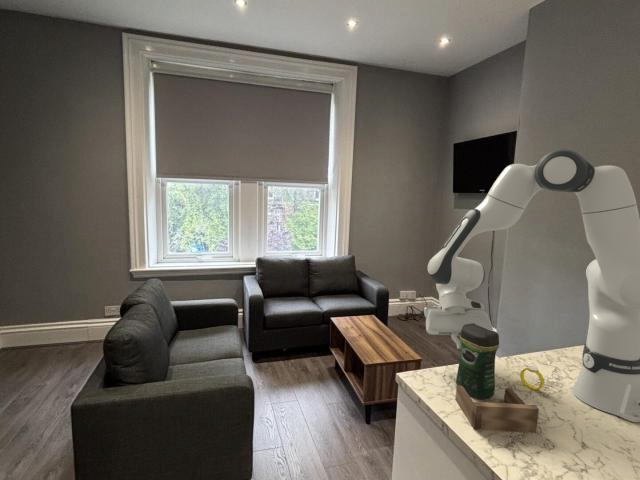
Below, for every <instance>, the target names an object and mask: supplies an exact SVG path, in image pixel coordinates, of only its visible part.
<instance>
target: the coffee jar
mask: <svg viewBox="0 0 640 480" xmlns="http://www.w3.org/2000/svg"><path fill="white" fill-rule="evenodd" d="M459 340H460V342H461V349H460V355H459V362H458V366H457V373H456V380H455V381H456V382H455V384H456V387H457V386H463V388H464V389H465V390H466V392H467V393H468V395H469V396H470V397H473V398H476V399H484V400H486V399H490V398H491V397H493V396H494V395H495V387H496V382H495V381H496V379H495V378H496V377H495V376H496V375H495V374H496V373H495V369H496V356H497V355H496V354H497V352H498V349H499V348H500V335H499V333H498V332H496V331H494V330H493V331H490V330H488V329H486V328H483V327H481V326H478V325H476V324H474V323H471V324H465V325H464V326H463V327H462V330H461V334H460V336H459Z"/></svg>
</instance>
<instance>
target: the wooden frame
mask: <svg viewBox="0 0 640 480" xmlns="http://www.w3.org/2000/svg"><path fill="white" fill-rule="evenodd" d="M455 401H456V403H457V405H458V406H459V408H460V410H461V411H462V413H463V414H464V416H465V418H466V419H467V421H468V423H469V424H470V425H471V427H472V429H473V431H490V432H491V431H493V432H512V433H514V432H515V433H516V432H517V433H533V434H534V433H535V434H536V433H537V430H538V428H537V427H538V421H539V420H538V419H539V413H540V408H539V407H538V406H537V405H536V404H528V403H525V401H524V400H523V399H522V398H521V397H520V396H519V395H518V394H517V393H516V392H515V391H514V390H513V388H512V387H504V397H503V402H484V401H483V402H482V401H473V399H472V398H471V395H469V394H468V393H467V392H466V390H465V389H464V388H463V386H457V385H456V390H455Z"/></svg>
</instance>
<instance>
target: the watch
mask: <svg viewBox="0 0 640 480" xmlns="http://www.w3.org/2000/svg"><path fill="white" fill-rule="evenodd" d="M525 371H529V373H530V372H531V373H535V374H536V375H537V377H538V378H539V386H538V387H535V386H534V385H532V384H529V383H528V382H527V381H526V378H525ZM519 376H520V381H521V382H522V384H523V386H525V387H527V388H530V389H532V390H534V391H539V390H541V389H542V388H543V387H544V385H545V379H544V376H543V374H542V373H541V372H540V369H539V368H538V367H536V366H532V365H528V366H527V367H525V368H523V369H521V371H520V375H519Z"/></svg>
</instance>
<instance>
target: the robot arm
mask: <svg viewBox="0 0 640 480" xmlns="http://www.w3.org/2000/svg"><path fill="white" fill-rule="evenodd" d="M543 190H547V191H550V192H554V193H560V192H561V193H563V192H565V193H566V192H567V193H574V194H575V195H576V197H577V200H578V203H579V207H580V212H581V217H582V222H583V227H584V231H585V237H586V242H587V243H588V245H589V246H590V248H591V250H592V252H593V255H594V257H595V259H593V260H592V261H591V262H589V264H588V265H587V267H586V270H585V276H586V279H587V286H588V288H587V291H588V292H587V293H588V306H589V307H588V309H589V321H588V329H587V336H586V342H585V343H584V345H583V349H582V356H581V357H582V363H581V367H580V370H579V374H578V376H577V378H576V381H575V383H574V385H573V387H572V388H571V390H572V393H573V394H574V396H575V397H577V399H579V400H580V401H582V402H584V403H585V404H587V405H588V406H591V407H593V408H596V409H597V410H600V411H602V412H606V413H609V414H612V415H615V416H616V417H617V416H618V417H620V418H622V419H625V421H629V422H632V423H640V213H639V210H638V208H639V207H638V204H637V200H636V196H635V192H634V189H633V187H632V184H631V182H630V179H629V177H628V175H627V173H626V170H624V169H623V168H621V167H620V166H616V165H610V164H609V165H599V166H593V165H592V164H591V163H590V162H589V161H587V159H585V158H584V157H583V156H582V155H581V154H579V153H578V152H576V151H575V150H572V149H566V148H562V149H555V150H553V151H550V152H548V153H546V154H545V155H543V156H542V157H541V158H540V159H539V161H538V163H536V164H535V165H528V164H523V163H512V164H509V165H506V167H505V168H504V169H503V170H502V171H501V173H500V174H499V175H498V176H497V178H496V180H495V181H494V182H493V184H492V186H491V187H490V189H489V191H488V193H487V194H486V196H485V198H483V200H482V201H481V203H479V204H478V205H477V206H476V207H475V208H473V209H470V210H468V211H467V212H466V213H465V214H464V215H463V217H462V218H461V219H460V220H459V222H458V223H457V224H456V225H455V227H454V228H453V230H452V232H451V233H450V234H449V235H448V236H447V238H446V240H445V241H444V242H443V244H442V245H441V246H440V248H439V249H438V250H437V251H436V252H435V253H434V254H433V255H432V256H431V258H430V259H429V260H428V263H427V266H426V271H427V275H428V277H429V278H430V279H431V281H432V282H433V283H434V284H435V286H436V287H435V288H436V291H437V292H438V293H437V294H438V296H439V297H438V303H439V306H437V305H436V306H431V305H430V306H428V305H427V306H426V307H424V309H423V316H424V318H425V331H426V332H427V334H429V335H438V336H450V337H451V340H453V341H454V343H455V345H456V348H457V350H459V349H460V350H461V341H460V338H458V337H460V334H461V330H462V327H463V326H464V325H465V324H471V323H474V324H476V325H478V326H481V327H483V328H486V329H488V330H490V331H493V332H494V328H493V325H492V322H491V319H490V317H489V315H488V313H487V312H486V311H485V305H484V304H483V302H482V303H481V302H479V301H476V300H473V299H469V298H468V297H467V293H470V292H472V291H475V290H476V289H478V288H479V287H481V286H482V285H483V284H484V282H485V279H486V272H485V267H484V266H483V264H482V263H481V262H479V261H476V260H473V259H468V258H463V257H459V254H460V253H461V252H462V250H463V249H464V248H465V246H466V245H467V243H468V242H469V241H470V240H471V239H472V238H473V237H474V236H476V235H478V234H481V233H485V232H491V231H492V232H493V231H501V230H506V229H508V228H511V227H513V226H514V225H515V224H516V223H517V222H518V221H519V220H520V218H521V217H522V215H523V214H524V212H525V210H526V208H527V207H528V204H529V203H530V201H531V200H532V198H533V197H534V196H535V195H536V193H539V191H543ZM453 341H452V342H453Z"/></svg>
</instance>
